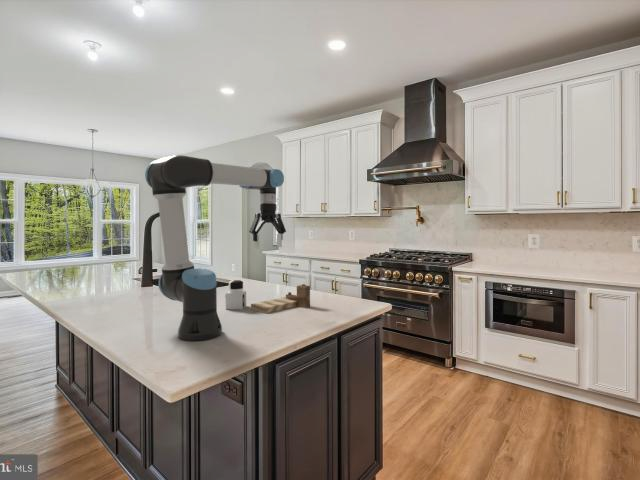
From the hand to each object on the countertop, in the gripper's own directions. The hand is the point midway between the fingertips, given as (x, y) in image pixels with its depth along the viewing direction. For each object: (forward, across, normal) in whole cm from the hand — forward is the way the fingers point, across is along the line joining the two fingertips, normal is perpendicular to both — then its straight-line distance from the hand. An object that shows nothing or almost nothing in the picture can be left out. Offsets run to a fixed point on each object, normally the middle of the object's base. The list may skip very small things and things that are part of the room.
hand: (268, 247), depth 173 cm
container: (+29, -12, +9) cm, 33 cm away
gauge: (+29, +12, -8) cm, 32 cm away
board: (+28, +4, -4) cm, 29 cm away
